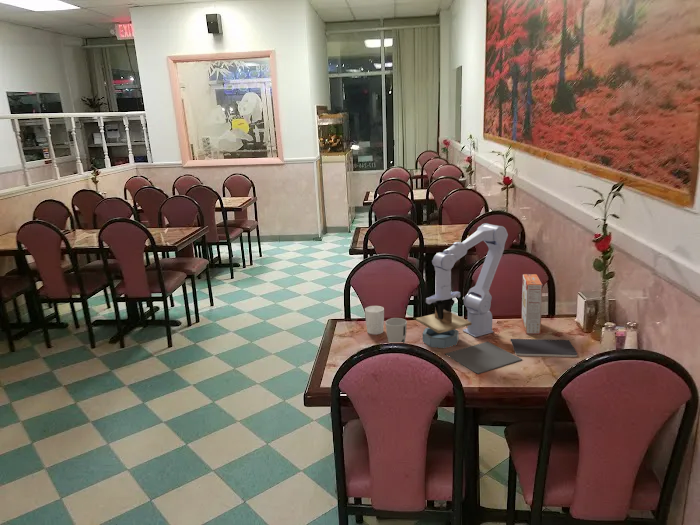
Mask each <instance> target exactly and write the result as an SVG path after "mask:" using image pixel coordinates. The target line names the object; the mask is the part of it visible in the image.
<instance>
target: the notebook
mask: <svg viewBox="0 0 700 525" xmlns="http://www.w3.org/2000/svg"><path fill="white" fill-rule="evenodd" d="M510 342H511V345H512V348H513V351H514V352H513V353H514V355H515V356H517V357H520V356H521V357H522V356H523V357H524V356H525V357H526V356H527V357H557V358H558V357H559V358H560V357H561V358H562V357H564V358H566V357H569V358H576V357H578V352H577V351H576V348H575V347H574V345H573V344H572V342H571V341H570V339H543V338H541V339H537V338H535V339H534V338H531V339H529V338H510Z"/></svg>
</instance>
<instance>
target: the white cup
mask: <svg viewBox="0 0 700 525" xmlns="http://www.w3.org/2000/svg"><path fill="white" fill-rule="evenodd" d="M364 314H365V324H366V331H367V334H369V335H380V334H383V333H384V331H385V330H384V329H385V328H384V324H385V308H384V306H380V305H370V306H366V307H365V308H364Z"/></svg>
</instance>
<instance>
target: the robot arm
mask: <svg viewBox="0 0 700 525" xmlns="http://www.w3.org/2000/svg"><path fill="white" fill-rule="evenodd" d="M508 236H509V234H508V231H507V228H506V227H504V226H503V225H497V224H491V223H488V222H486V223H485V222H484V223H482V224H481V225H479V226H478V227H477V229H476V231H475V232H473V233H472V234H471V235H469V236H468V237H467V238H465V240H463V241H462V242H461V241H456V242H453V243H452V245H450V246H449V247H448V248H447V249H444V250H443V251H442V252H440V251H439V252H437V253H436V254H435V255H434V256H433V258H432V260H431V263H432V265H433V267H434V271H435V294H433V295H431V296H429V297H426V298H425V303H426V304H427V305H431V304H433V307H434V310H435V309H436V311H437V314H438V318H439V319H441V320H442V319H443V310H446V311H448V312H451V311H452V307H453V305H454V304H455V300H454V299H455V298H461V292H460V291H457V290H456V291H452V268H454V265H455V263H457V262H458V261H459V260H460V259H461V258H463V257H464V256H465V255H466V256H467V253H468V250H469V249H471V248H473V247H474V246H477V245H478V244H479V243H481V242H484V243H485V244H486V246H487V247H488V248H487V249H488V251H487V254H486V256H485V258H484V261H483V264H482V267H481V269H480V273H479V274H478V277H477V279H476V283H475V285H474V286H473V287H471V288H469V290H468V292H467V294H466V295H465V296H464V298H463V304H464V307H466V310H467V321H469V322H471V325H469V326H467V328H464V329H462V332H465V333H466V334H469V335H470V336H472V337H474V338H476V337H481V336H485V335H487V334H493V333H494V330H493V313H492V312H491V311H490V309H491V304H492V303H491V302H492V298H493V297H492V295H491V293H490V288H491V286H492V282H493V280H494V277H495V276H496V275H495V274H496V272H497V269H498V266H499V264H500V261H501V258H502V256H503V254H504V251H505V245H506V243H507V242H506V241H507V239H508Z"/></svg>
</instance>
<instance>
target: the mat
mask: <svg viewBox="0 0 700 525" xmlns="http://www.w3.org/2000/svg"><path fill="white" fill-rule="evenodd" d="M445 354H446V355H445ZM444 355H445V356H447V355H448V356H450V357H451V360H453V359H454V360H453V361H455V362H457V363H458V362H459V363H458V364H460V365H461V366H463V367H465V368H466V369H469V371H472V372H473V373H475V374H476V373H477V375H480V374H483V373H485V372H486V373H487V372H490V371H491V370H495V369H498V368H501V367H505V366H508V365H512V364H515V363H518V362H521V361H523V358H521V357H520V356H518V355H516V354H513V353H511V352H509V351H507V350H505V349H504V348H501V347H500V346H497V345H495V344H493V343H492V342H489V341H484V342H481V343H477V344H474V345H471V346H467V347H463V348H460V349H457V350H452V351H450V352H446V353H444ZM448 356H447V357H448ZM450 357H449V358H450Z"/></svg>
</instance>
